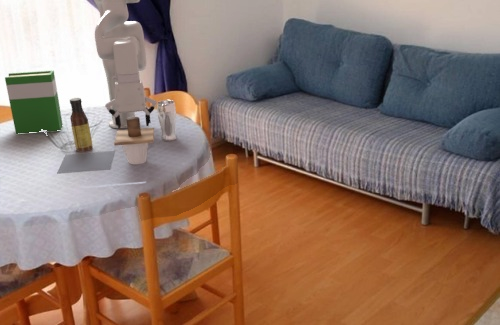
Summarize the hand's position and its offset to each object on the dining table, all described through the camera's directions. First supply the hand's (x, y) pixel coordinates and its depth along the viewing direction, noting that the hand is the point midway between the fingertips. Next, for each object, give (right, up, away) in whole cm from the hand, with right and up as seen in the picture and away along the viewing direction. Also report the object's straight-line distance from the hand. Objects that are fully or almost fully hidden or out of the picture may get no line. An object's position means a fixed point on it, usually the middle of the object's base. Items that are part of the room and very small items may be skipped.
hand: (133, 126), depth 200 cm
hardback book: (-48, +1, +42) cm, 64 cm away
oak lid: (0, -4, +2) cm, 4 cm away
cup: (0, -13, +5) cm, 14 cm away
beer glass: (+9, -4, +27) cm, 28 cm away
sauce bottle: (-22, -8, +19) cm, 30 cm away
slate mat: (-18, -13, +6) cm, 23 cm away
